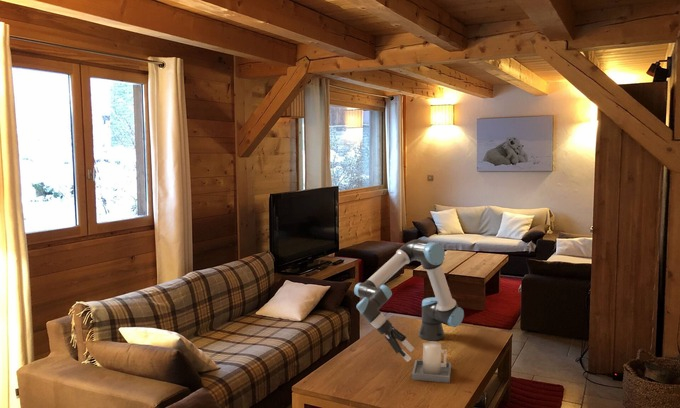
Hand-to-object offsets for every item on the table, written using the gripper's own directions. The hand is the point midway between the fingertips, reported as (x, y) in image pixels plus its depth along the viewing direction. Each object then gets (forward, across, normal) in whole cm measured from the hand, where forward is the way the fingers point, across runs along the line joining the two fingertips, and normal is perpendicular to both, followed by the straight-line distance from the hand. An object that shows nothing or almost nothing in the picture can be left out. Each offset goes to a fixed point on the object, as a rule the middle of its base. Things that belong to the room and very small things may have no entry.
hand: (411, 355), depth 283 cm
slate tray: (+14, 0, +1) cm, 14 cm away
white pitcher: (+14, 0, +3) cm, 14 cm away
